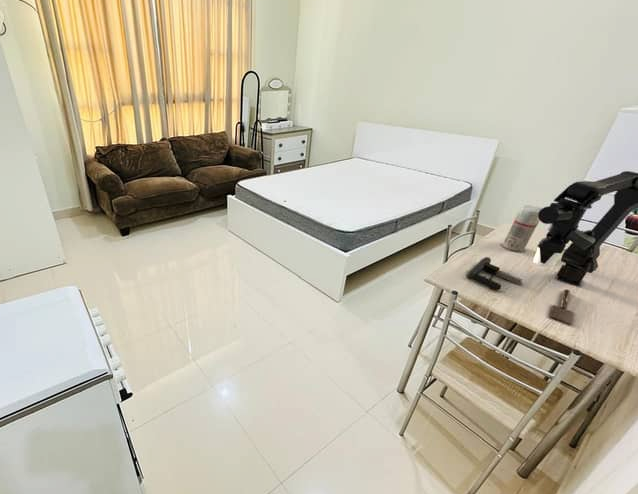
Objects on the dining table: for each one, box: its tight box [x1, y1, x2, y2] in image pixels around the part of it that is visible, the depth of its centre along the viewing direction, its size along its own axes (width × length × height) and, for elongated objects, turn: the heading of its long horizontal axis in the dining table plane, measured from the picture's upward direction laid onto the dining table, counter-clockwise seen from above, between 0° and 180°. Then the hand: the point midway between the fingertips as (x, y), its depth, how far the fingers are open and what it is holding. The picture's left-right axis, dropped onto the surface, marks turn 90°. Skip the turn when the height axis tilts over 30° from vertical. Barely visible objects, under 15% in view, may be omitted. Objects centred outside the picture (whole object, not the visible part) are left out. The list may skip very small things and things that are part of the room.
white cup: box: [532, 247, 566, 269], centre depth 114 cm, size 7×7×7 cm
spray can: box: [502, 204, 544, 252], centre depth 141 cm, size 8×8×20 cm
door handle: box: [464, 256, 523, 291], centre depth 124 cm, size 3×20×16 cm
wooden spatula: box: [549, 289, 574, 326], centre depth 110 cm, size 5×22×2 cm, turn 134°
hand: (544, 260), depth 115 cm, fingers closed on white cup, 6 cm apart
